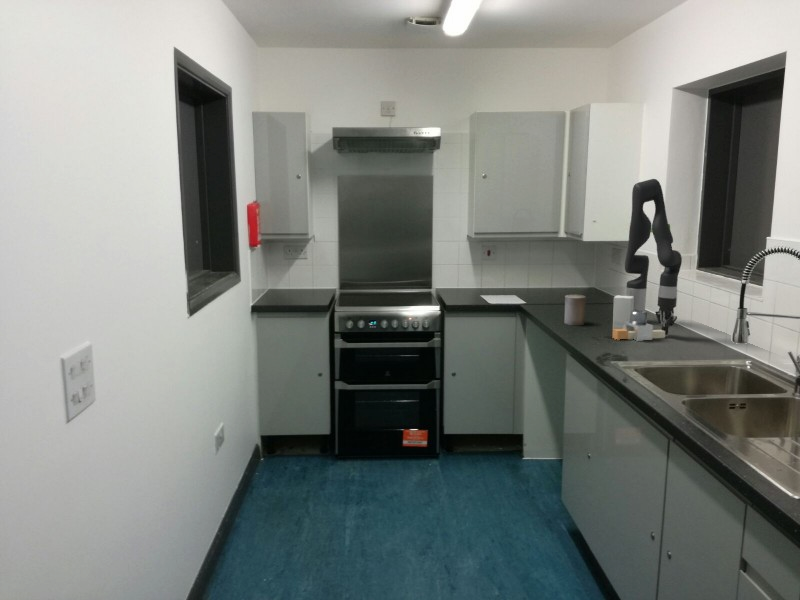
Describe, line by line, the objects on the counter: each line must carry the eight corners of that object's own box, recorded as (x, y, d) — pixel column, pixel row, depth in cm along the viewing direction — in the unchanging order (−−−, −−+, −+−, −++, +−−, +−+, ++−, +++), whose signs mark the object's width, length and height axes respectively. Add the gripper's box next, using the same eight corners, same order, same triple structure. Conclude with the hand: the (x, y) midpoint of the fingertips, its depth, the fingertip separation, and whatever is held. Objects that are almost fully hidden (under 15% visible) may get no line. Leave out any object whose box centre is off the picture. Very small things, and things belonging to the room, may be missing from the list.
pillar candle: (587, 323, 293) (588, 292, 291) (581, 326, 285) (582, 295, 283) (567, 321, 298) (568, 291, 296) (561, 324, 290) (562, 293, 288)
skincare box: (632, 328, 281) (635, 296, 278) (630, 331, 275) (632, 298, 272) (614, 326, 285) (616, 294, 282) (611, 329, 279) (613, 296, 276)
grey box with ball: (622, 334, 268) (624, 309, 266) (636, 334, 269) (638, 308, 267) (636, 341, 257) (638, 314, 255) (651, 340, 258) (654, 314, 256)
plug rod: (612, 338, 262) (612, 329, 262) (660, 336, 266) (660, 327, 265) (617, 340, 258) (617, 331, 258) (665, 338, 262) (666, 329, 262)
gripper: (650, 293, 267) (648, 331, 270) (668, 298, 255) (665, 338, 258) (666, 293, 269) (663, 331, 272) (684, 298, 256) (681, 337, 259)
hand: (664, 334), depth 265 cm, fingers closed
